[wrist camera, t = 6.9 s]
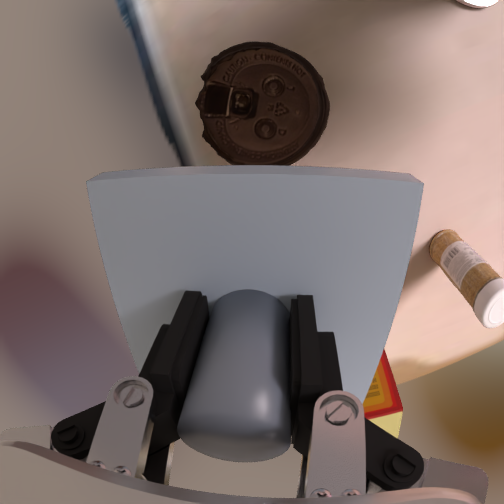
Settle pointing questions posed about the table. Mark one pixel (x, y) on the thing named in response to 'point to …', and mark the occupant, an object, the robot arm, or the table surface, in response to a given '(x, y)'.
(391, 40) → the table surface
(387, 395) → the baking soda box
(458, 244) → the sprinkles bottle
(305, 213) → the lid
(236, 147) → the coffee cup
